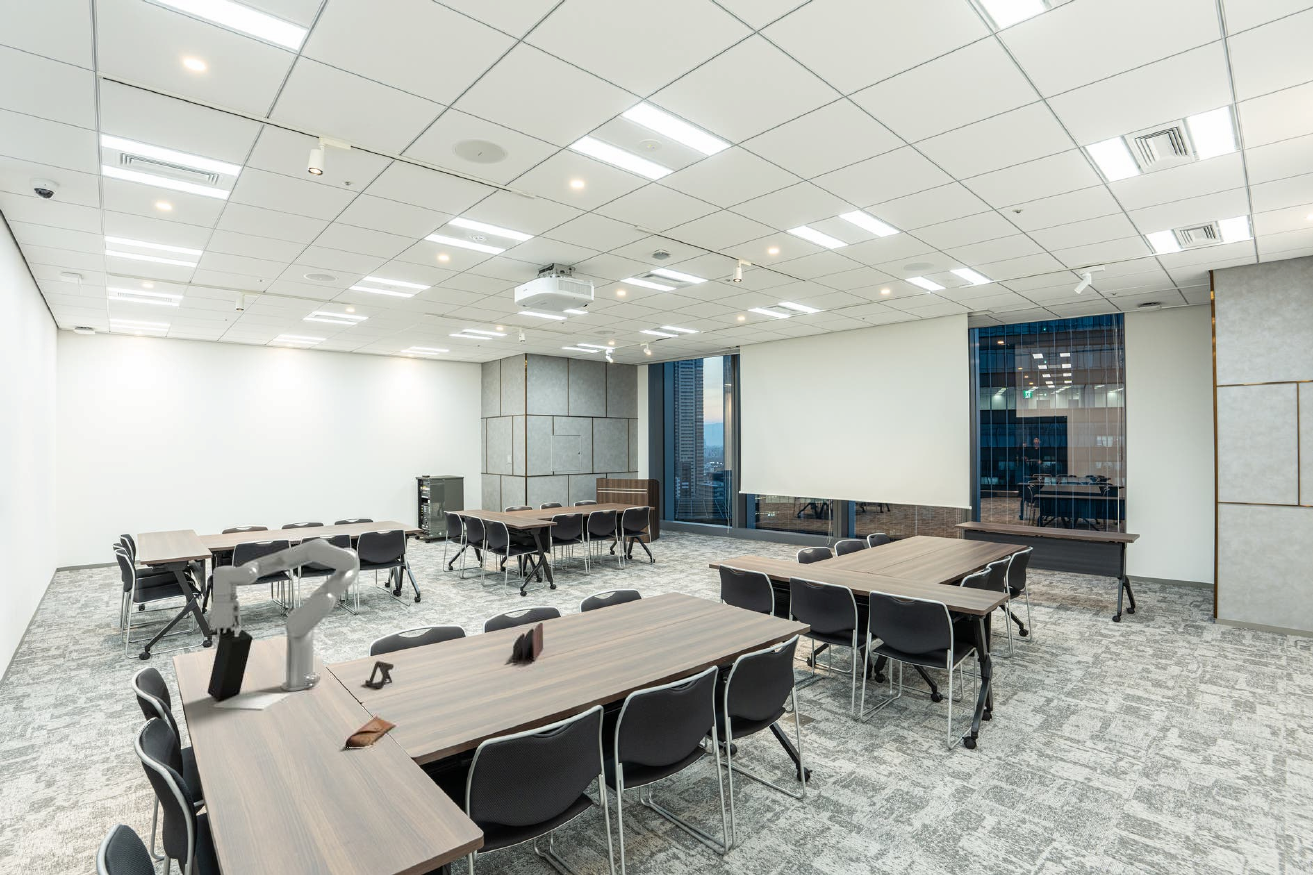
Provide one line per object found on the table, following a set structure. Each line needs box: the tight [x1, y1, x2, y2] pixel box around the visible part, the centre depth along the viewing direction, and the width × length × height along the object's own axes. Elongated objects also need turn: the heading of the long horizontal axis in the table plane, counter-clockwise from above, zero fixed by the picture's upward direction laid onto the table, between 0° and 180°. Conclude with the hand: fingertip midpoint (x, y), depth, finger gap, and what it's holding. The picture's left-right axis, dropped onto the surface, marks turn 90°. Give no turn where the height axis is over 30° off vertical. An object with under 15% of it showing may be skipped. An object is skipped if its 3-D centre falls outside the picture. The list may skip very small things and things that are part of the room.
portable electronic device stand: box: [364, 660, 394, 690], centre depth 253 cm, size 9×8×8 cm
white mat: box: [214, 691, 291, 711], centre depth 235 cm, size 20×14×1 cm
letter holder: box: [512, 622, 544, 664], centre depth 289 cm, size 10×20×14 cm, turn 178°
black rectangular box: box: [206, 627, 253, 703], centre depth 238 cm, size 8×8×28 cm
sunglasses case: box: [344, 715, 397, 749], centre depth 206 cm, size 18×7×7 cm
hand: (224, 645), depth 240 cm, fingers closed
